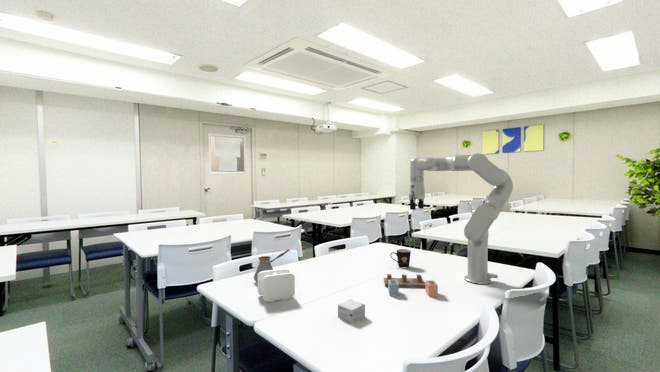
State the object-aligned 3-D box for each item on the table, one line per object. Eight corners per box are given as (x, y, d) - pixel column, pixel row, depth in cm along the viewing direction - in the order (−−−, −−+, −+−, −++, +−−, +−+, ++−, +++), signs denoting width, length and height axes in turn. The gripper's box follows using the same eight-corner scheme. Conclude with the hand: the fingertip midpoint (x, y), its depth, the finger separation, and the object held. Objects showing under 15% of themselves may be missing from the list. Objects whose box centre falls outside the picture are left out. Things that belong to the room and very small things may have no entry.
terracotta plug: (434, 292, 147) (434, 280, 147) (437, 297, 140) (437, 284, 140) (425, 291, 147) (425, 280, 147) (428, 297, 141) (428, 284, 141)
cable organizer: (261, 304, 134) (261, 277, 134) (257, 295, 144) (257, 270, 144) (295, 298, 140) (294, 273, 140) (288, 291, 150) (288, 267, 149)
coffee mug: (412, 266, 191) (412, 249, 191) (408, 269, 184) (408, 252, 184) (394, 263, 198) (394, 247, 197) (389, 266, 190) (389, 250, 190)
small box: (337, 317, 121) (337, 304, 121) (350, 311, 126) (350, 298, 126) (352, 323, 115) (352, 310, 115) (365, 317, 121) (365, 304, 121)
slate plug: (396, 291, 148) (396, 279, 148) (398, 296, 142) (398, 284, 142) (388, 290, 149) (388, 279, 149) (389, 295, 142) (389, 283, 142)
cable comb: (422, 281, 162) (422, 272, 162) (426, 287, 152) (426, 278, 152) (383, 280, 164) (383, 272, 164) (385, 286, 154) (385, 277, 154)
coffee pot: (259, 287, 155) (259, 257, 155) (250, 281, 164) (249, 253, 164) (295, 278, 169) (295, 251, 168) (285, 273, 178) (284, 247, 177)
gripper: (415, 179, 172) (415, 210, 172) (429, 179, 184) (429, 208, 185) (403, 179, 177) (403, 209, 177) (418, 179, 190) (418, 207, 190)
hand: (416, 209), depth 181 cm, fingers open, 9 cm apart
